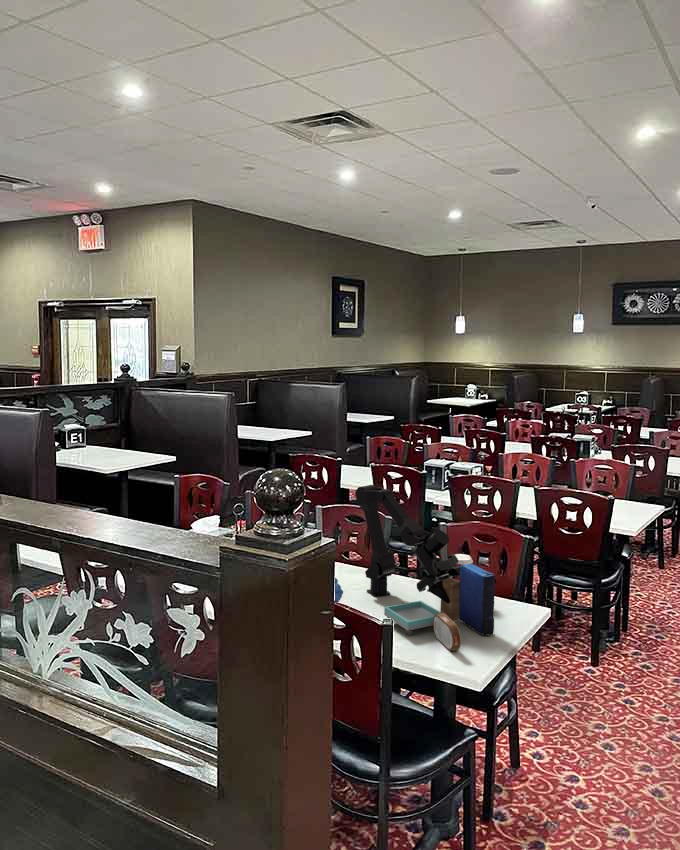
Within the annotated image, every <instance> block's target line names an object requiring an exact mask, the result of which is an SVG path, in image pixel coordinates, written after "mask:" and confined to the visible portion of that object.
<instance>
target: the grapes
mask: <svg viewBox="0 0 680 850" xmlns="http://www.w3.org/2000/svg"><path fill="white" fill-rule="evenodd" d="M338 582H339V580H338V579H337V578H336V577H335V602H340V600H341V599H342V597H343V596H342V595H343V594H344V590H343V589H342V586H341V585H340V584H339V583H338Z"/></svg>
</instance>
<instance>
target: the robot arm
mask: <svg viewBox="0 0 680 850" xmlns="http://www.w3.org/2000/svg"><path fill="white" fill-rule="evenodd" d="M354 493H355V494H354V496H355V499H356V501H357V505H358V506H359V508H360V509H361V510H362V511H363V513H364V516H365V520H366V521H365V522H366V526H367V531H368V534H369V539H370V544H371V549H372V552H371V556H370V566H369V567H368V568H367V569H366V570H365V577H366V578H367V579H370V588H369V589H366V592H367V593H368V594H370V595H371V596H374V597H376V598H377V597H381V596H388V595H391V592H389V591H388V577H390V576H392V575H393V572H394V570H395V569H396V563H397V561H396V559H395V553H394V552H393V551H390V550H389V548H387V545H386V541H385V535H384V531H383V527H382V522H381V519H380V513H379V508H378V507H379V505H380V503H381V504H382V506H383V508H384V509H385V510H386V511H387V513H388V515H389V516H390V517H391V519H392V520H393V522H394V523H395V524H396V526H397V528H398V529H399V532H398V533H399V535H400V537H401V539H402V542H403V543H404V545H406V546H408V547H412V546H415V547H412V548H411V551H410V554H409V555H410V557H414V556H416V558H417V560H418V561H419V563H420V564H421V571H422V572H426V574H427V575H426V576H423V578H421V579H420V580H419V581H418V582H416V589H417V591H418V592H419V593H422V592H424V591H426V592H428V593H431V594H432V595H434V596H436V597H437V598H439V599H440V600H441V599H442V600H443V601H445V602H446V603H450V600H449V597H448V596H447V594H446V592H445V590H444V588H443V582H442V581H443V580H446V579H449V578H452V579H455V580H457V578H458V577H459V576H460V566H457V563H458V559H457V557H456V556H455V555H454V554H450V555H448V556H447V558H446V559H443V558H442V557H438V556H437V555H436V554H438V553H439V552H440V551H441V550H442V551H443V549H444V548H445V547H446V546H447V545H448V544H450V536H449V535H448V534H447V533H446V532H445V531H443V530H440V529H439V527H433V528H432V529H431V530H430V531H429V532H428V531H426V530H425V528H423V527H422V526H421V525H420V524H419V523H418V522H416V521H414V520H413V519H411V518H410V517H409V515H408V514H407V512H406V511H405V510H404V508H403V507H402V505H401V504H400V503H399V501H398V500H397V499H396V497H395V496H394V494H393V491H392V490H391V489H389V488H383V487H379V486H378V487H377V486H376V485H375V484H367V485H364V486H363V485H362V486H359V487H357V488H356V489H355V491H354ZM416 545H417V546H416ZM427 588H428V589H427Z"/></svg>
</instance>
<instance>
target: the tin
mask: <svg viewBox="0 0 680 850" xmlns="http://www.w3.org/2000/svg"><path fill="white" fill-rule="evenodd" d="M433 624H434V625H433V632H434V635H435V637H436V640H437V641H439V642H440V644H441V645H442V646H444V648H446V650H448V652H449V651H450V652H451V651H459V650H460V648H461V644H462V638H461V632H460V629H459V627H458V625H457V624H456V622H453V621H452V620H451V619H450V618H449V617H448V616H447V615H446V614H445V613H441V614H436V615H435V616H434V618H433Z"/></svg>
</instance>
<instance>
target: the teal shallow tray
mask: <svg viewBox="0 0 680 850" xmlns="http://www.w3.org/2000/svg"><path fill="white" fill-rule="evenodd" d="M383 612H384V613H383V615H384V616H385V617H386V619H387V618H391V619H393V620H394V622H393V623H395V624H397V625H399V626H400V627H401V628H403V629H404V630H405V635H406V636H407V635H408V636H407V637H411V636H412V635H413V630H417V629H424V628H427V627H434V624H433V618H434V616H435V615H436V614H441V612H440V610H437V609H435V608H434V607H432V606H431V605H429V604H428V603H426V602H424V601H422V600H417V601H411V602H405V603H399V604H394V605H389V606H384V611H383Z"/></svg>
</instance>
